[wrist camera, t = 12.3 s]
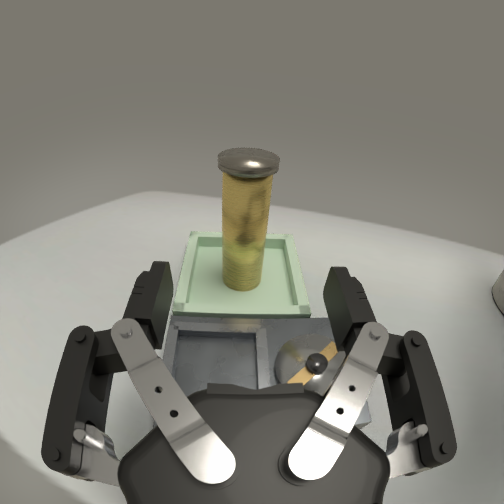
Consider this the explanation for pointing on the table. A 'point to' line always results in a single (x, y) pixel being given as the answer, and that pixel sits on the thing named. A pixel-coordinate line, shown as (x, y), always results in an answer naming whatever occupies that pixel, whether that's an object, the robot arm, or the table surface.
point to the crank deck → (253, 354)
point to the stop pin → (245, 213)
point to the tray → (237, 302)
